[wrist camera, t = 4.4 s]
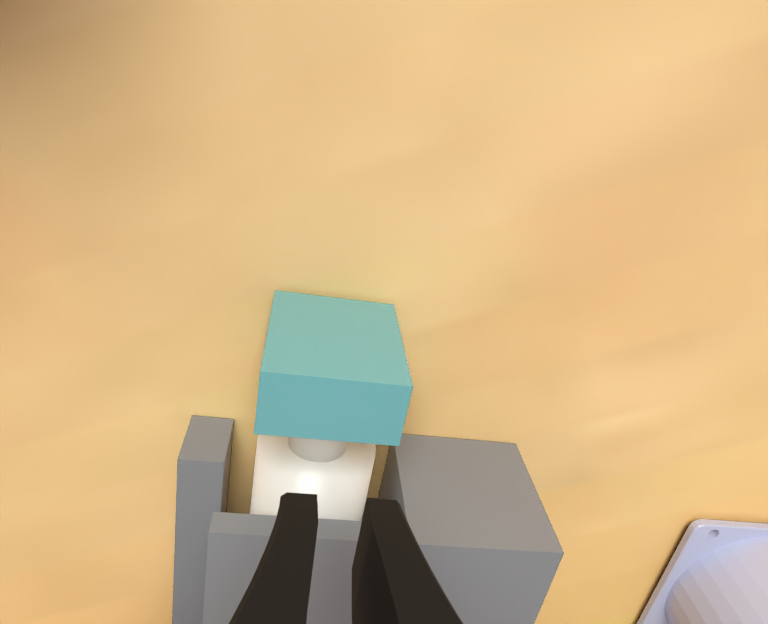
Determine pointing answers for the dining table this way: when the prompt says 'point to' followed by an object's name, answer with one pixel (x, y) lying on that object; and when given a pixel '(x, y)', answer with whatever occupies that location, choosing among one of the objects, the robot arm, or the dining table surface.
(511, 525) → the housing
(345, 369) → the cartridge
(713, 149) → the dining table surface
